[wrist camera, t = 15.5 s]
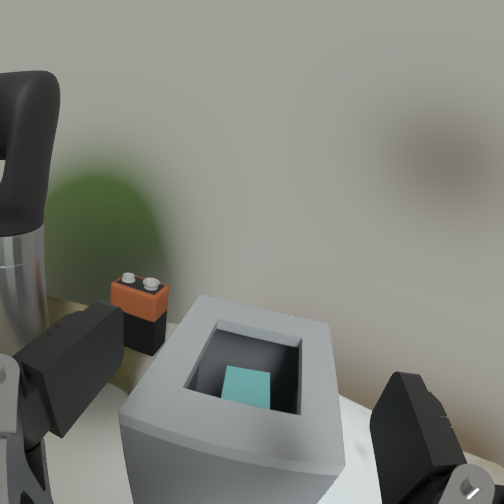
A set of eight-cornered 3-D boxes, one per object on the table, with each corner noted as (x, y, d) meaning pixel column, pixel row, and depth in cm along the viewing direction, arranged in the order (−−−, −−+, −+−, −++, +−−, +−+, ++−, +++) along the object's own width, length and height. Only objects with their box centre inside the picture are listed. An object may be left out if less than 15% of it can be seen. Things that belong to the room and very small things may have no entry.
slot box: (135, 511, 18) (118, 411, 14) (187, 400, 33) (200, 293, 29) (278, 546, 17) (345, 466, 13) (290, 424, 32) (328, 323, 28)
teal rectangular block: (205, 477, 23) (219, 407, 20) (212, 438, 28) (227, 365, 25) (244, 483, 23) (269, 415, 20) (247, 444, 28) (269, 372, 25)
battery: (152, 358, 39) (156, 291, 36) (110, 341, 40) (109, 276, 37) (165, 342, 43) (171, 279, 40) (125, 327, 44) (126, 265, 41)
